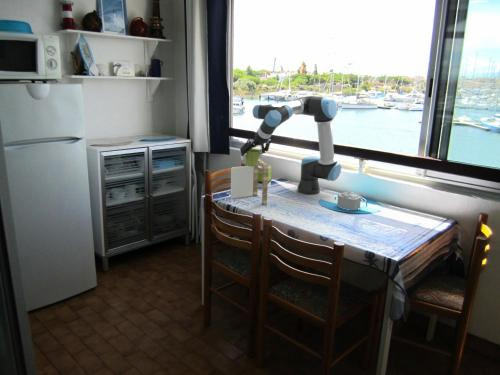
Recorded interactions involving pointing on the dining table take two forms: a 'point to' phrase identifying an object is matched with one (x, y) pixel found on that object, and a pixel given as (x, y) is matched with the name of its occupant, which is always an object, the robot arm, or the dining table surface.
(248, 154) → the plant pot
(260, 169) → the tea box
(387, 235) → the dining table surface
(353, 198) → the lumpy-topped squat cylinder
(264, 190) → the door frame
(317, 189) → the robot arm
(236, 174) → the door leaf
